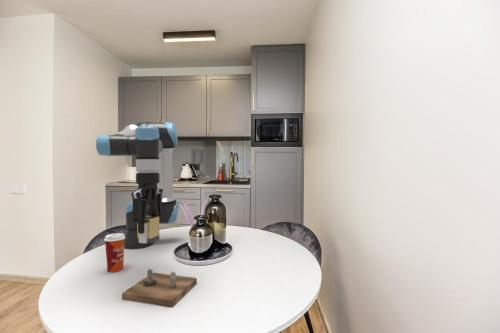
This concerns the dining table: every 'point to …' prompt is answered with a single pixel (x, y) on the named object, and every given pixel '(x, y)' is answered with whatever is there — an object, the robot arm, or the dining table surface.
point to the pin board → (160, 289)
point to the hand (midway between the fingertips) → (148, 240)
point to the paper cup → (114, 251)
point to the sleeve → (151, 229)
